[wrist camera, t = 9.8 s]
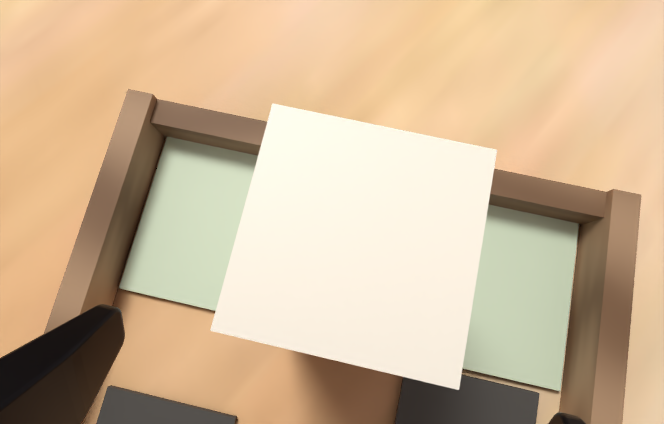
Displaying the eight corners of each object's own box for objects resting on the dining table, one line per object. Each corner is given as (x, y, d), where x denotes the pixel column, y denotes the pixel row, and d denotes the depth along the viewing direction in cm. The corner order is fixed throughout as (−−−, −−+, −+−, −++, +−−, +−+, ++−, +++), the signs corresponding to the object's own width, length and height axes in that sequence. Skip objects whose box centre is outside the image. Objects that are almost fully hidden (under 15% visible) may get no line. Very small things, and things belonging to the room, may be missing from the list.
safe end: (556, 389, 20) (560, 391, 20) (121, 288, 21) (118, 288, 21) (575, 224, 22) (578, 223, 21) (169, 138, 23) (167, 136, 22)
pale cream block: (388, 340, 20) (459, 390, 9) (283, 315, 21) (210, 330, 9) (409, 235, 21) (496, 150, 10) (307, 213, 22) (272, 103, 10)
